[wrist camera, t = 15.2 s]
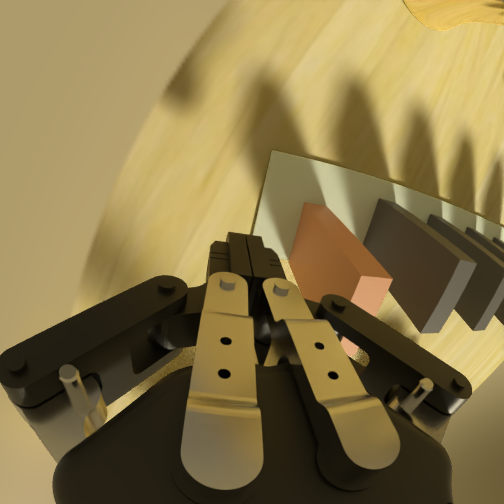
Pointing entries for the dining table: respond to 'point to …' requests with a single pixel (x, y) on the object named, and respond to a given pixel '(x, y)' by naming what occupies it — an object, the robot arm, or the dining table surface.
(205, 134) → the dining table surface
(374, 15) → the dining table surface
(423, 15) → the beer glass
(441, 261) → the domino
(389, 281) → the domino
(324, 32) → the dining table surface
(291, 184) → the mat
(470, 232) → the domino
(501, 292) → the domino
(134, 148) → the dining table surface
